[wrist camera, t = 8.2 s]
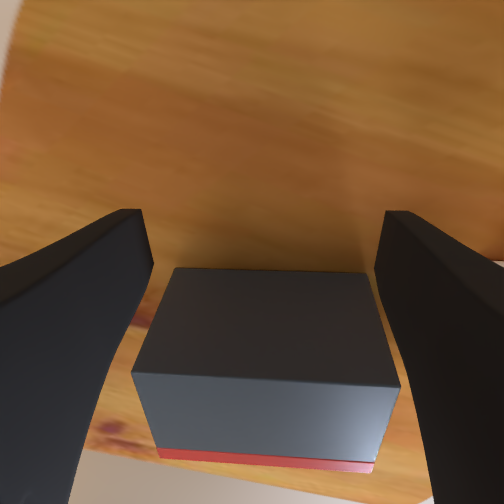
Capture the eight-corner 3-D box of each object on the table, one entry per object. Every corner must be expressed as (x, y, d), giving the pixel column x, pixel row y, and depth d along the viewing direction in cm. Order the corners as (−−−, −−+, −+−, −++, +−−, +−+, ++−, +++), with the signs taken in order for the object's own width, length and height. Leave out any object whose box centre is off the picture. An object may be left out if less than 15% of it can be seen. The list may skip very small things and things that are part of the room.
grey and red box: (174, 267, 19) (189, 350, 23) (129, 372, 13) (159, 458, 17) (367, 272, 18) (349, 357, 22) (402, 386, 13) (371, 473, 16)
